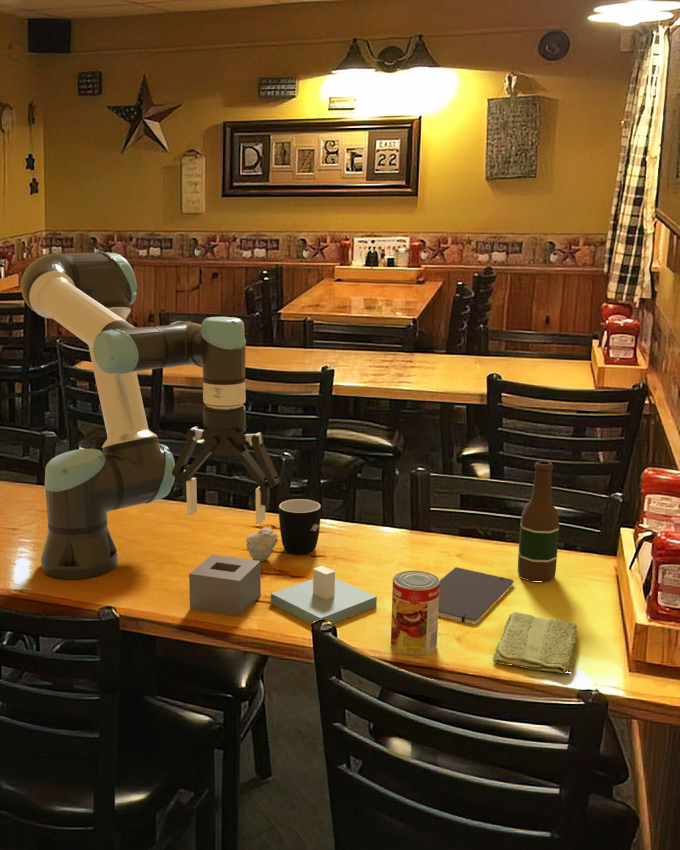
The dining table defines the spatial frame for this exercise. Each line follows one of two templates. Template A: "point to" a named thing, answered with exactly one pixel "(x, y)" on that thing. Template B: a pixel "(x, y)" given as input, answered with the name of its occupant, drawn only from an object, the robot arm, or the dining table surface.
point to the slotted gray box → (225, 585)
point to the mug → (299, 525)
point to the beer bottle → (539, 529)
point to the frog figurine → (261, 544)
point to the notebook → (469, 594)
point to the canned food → (415, 612)
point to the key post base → (323, 598)
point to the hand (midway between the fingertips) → (225, 517)
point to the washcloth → (537, 643)
